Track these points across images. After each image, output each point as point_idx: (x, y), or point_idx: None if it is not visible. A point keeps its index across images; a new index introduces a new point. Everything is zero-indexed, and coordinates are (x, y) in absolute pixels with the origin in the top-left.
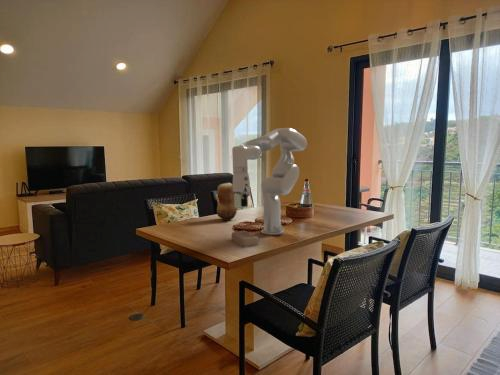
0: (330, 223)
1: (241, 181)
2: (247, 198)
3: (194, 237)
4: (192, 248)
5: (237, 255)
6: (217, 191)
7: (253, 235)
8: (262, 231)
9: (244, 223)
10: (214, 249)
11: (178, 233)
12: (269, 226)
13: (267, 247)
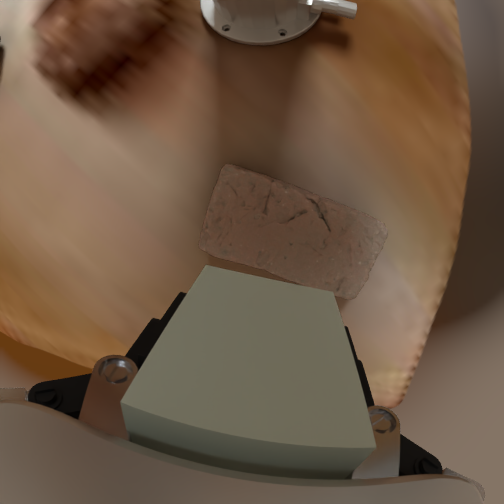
0: None
1: None
2: (355, 373)
3: (79, 301)
4: None
5: (385, 365)
6: None
7: (341, 213)
8: (235, 37)
9: (51, 18)
10: None
11: (21, 292)
12: (278, 12)
13: (429, 229)
